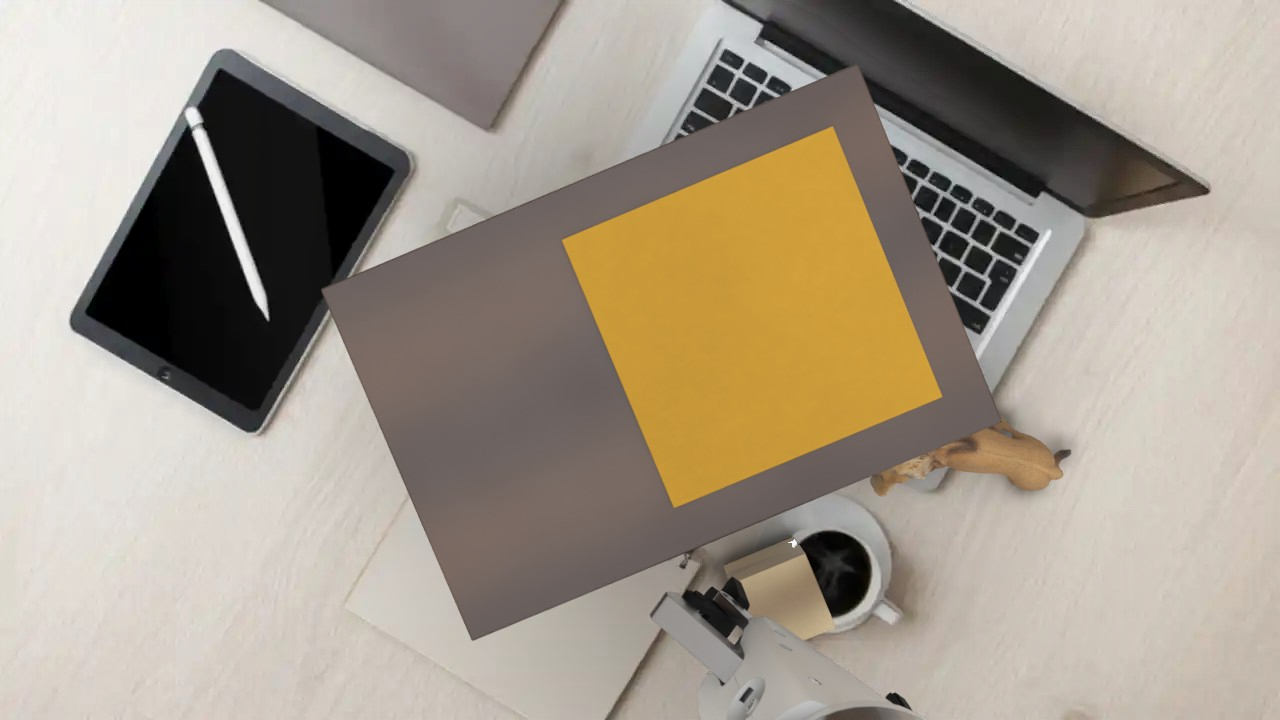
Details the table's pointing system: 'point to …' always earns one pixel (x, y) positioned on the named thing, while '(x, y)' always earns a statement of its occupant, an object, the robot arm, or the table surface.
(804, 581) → the beech block
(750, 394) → the felt cloth
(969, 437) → the lion figurine
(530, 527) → the walnut stand
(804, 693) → the robot arm
